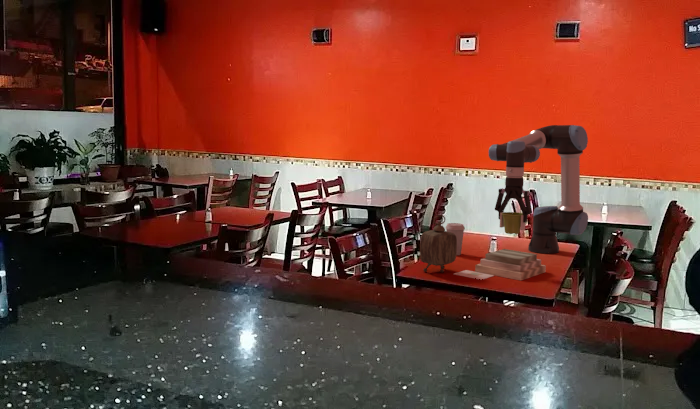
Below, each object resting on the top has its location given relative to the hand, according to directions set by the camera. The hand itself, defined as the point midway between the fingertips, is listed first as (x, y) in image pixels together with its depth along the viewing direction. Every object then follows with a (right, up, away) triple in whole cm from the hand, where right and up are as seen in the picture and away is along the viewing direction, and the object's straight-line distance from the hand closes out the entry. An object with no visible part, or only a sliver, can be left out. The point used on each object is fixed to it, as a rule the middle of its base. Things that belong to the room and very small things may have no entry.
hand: (512, 228), depth 272 cm
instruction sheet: (-18, -20, -4) cm, 27 cm away
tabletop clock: (-32, -19, +1) cm, 37 cm away
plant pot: (0, -2, 0) cm, 2 cm away
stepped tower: (0, -19, +2) cm, 19 cm away
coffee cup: (-19, -14, +39) cm, 46 cm away
